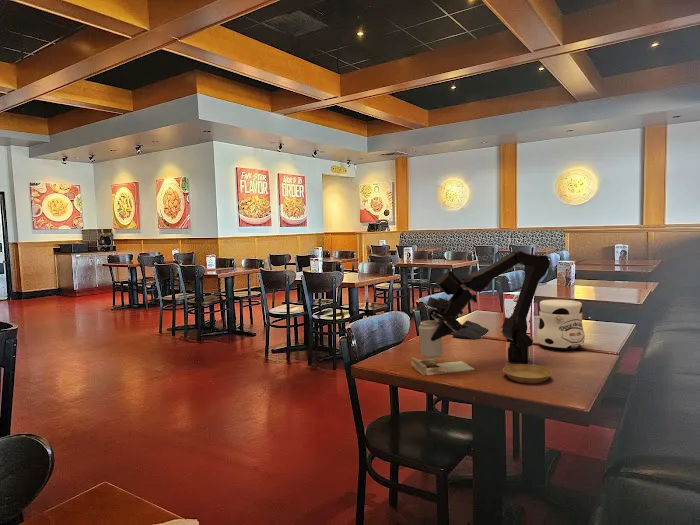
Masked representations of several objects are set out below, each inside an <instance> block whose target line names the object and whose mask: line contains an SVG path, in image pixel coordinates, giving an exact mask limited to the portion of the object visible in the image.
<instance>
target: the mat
mask: <svg viewBox="0 0 700 525" xmlns="http://www.w3.org/2000/svg"><path fill="white" fill-rule="evenodd" d="M435 366H437V367H438V366H439V367H447V372H448V373H456V372H457V373H458V372H467V371H468V372H469V371H475V368H474V367H472V366H470V365H469V364H468V363H465V362H464V361H462V360H459V361H449V362H440V363H435Z"/></svg>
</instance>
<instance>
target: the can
mask: <svg viewBox="0 0 700 525" xmlns="http://www.w3.org/2000/svg"><path fill="white" fill-rule="evenodd" d="M438 327H439V324H438V321H434V320H428V319H427V320H422V321H421V322H420V324H419V326H418V336H419V349H420V350H419V351H420V356H422V357H423V358H426V359H436V358H439V357H440V358H441V356H442V355H443V352H444V351H443V341H442V337H441V338H439V339H437V340H435V341H432V340H431V338H432V336H433V334H434V333H435V331H436V330H437V328H438Z"/></svg>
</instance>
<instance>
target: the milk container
mask: <svg viewBox="0 0 700 525" xmlns="http://www.w3.org/2000/svg"><path fill="white" fill-rule="evenodd" d="M582 304H583V303H582V302H581V301H578V300H570V299H543V300H540V302H539V306H538V309H539V313H538V315H539V316H538V317H539V323H538V327H537V331H536V332H537V333H536V338H537V342H538V343H539V345H540V346H542V347H544V348H547V349H552V350H559V351H560V350H561V351H565V350H567V351H572V350H577V349H580V348H582V347H583V346H584V344H585V340H586V334H585V330H584V327H583V305H582Z"/></svg>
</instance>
